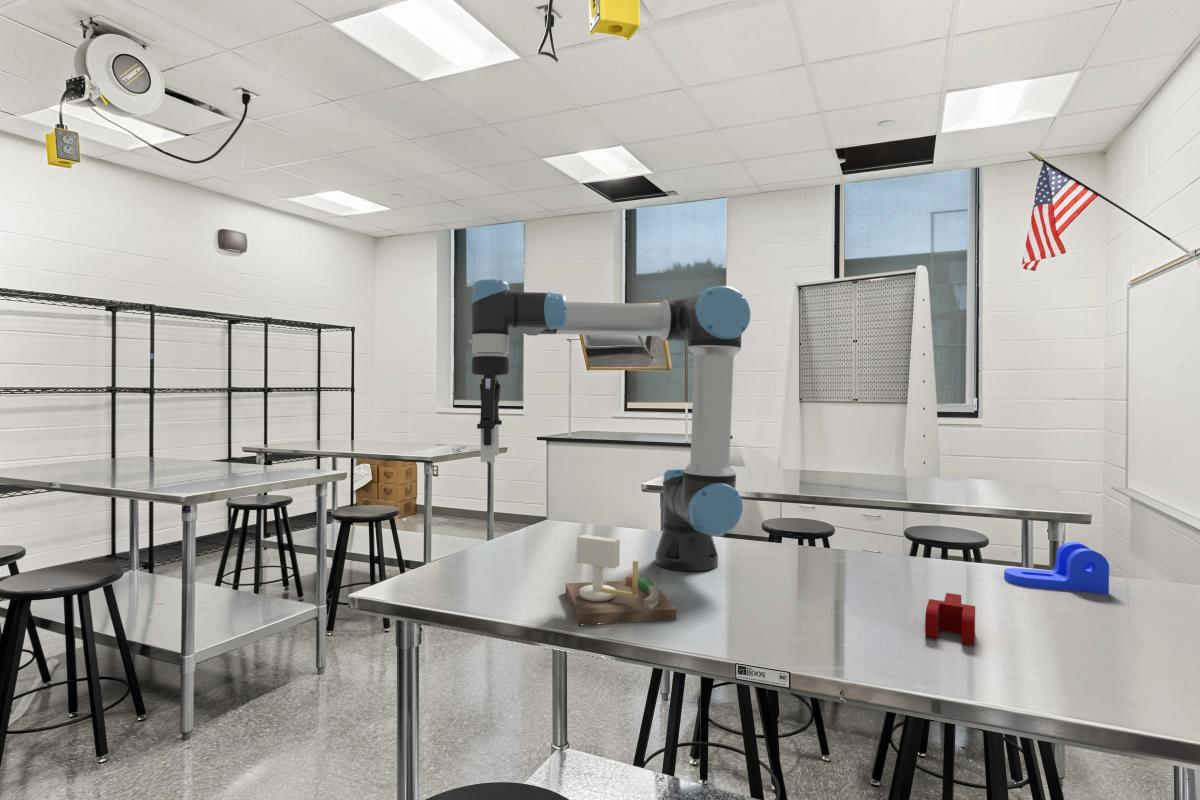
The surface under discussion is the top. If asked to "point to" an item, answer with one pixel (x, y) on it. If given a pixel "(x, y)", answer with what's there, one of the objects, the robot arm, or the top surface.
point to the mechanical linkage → (950, 618)
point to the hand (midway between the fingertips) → (490, 458)
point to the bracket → (1067, 571)
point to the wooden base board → (622, 604)
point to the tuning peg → (602, 555)
